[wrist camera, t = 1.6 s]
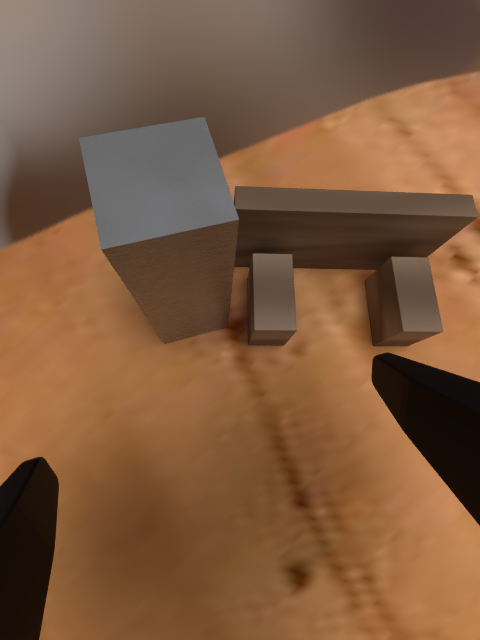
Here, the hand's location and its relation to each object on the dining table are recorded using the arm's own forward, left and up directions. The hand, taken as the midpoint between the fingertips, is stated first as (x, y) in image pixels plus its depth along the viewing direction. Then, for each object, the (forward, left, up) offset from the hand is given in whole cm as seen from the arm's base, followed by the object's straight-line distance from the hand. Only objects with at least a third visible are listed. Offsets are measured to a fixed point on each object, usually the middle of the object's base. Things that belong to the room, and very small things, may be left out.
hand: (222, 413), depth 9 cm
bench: (+12, -1, -13) cm, 18 cm away
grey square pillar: (+5, +7, -13) cm, 16 cm away
